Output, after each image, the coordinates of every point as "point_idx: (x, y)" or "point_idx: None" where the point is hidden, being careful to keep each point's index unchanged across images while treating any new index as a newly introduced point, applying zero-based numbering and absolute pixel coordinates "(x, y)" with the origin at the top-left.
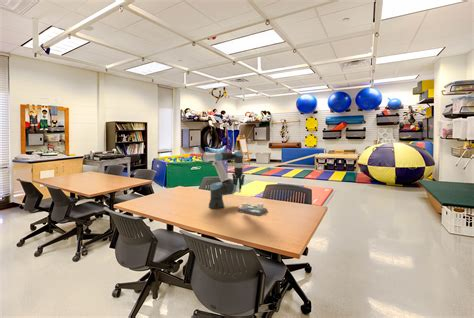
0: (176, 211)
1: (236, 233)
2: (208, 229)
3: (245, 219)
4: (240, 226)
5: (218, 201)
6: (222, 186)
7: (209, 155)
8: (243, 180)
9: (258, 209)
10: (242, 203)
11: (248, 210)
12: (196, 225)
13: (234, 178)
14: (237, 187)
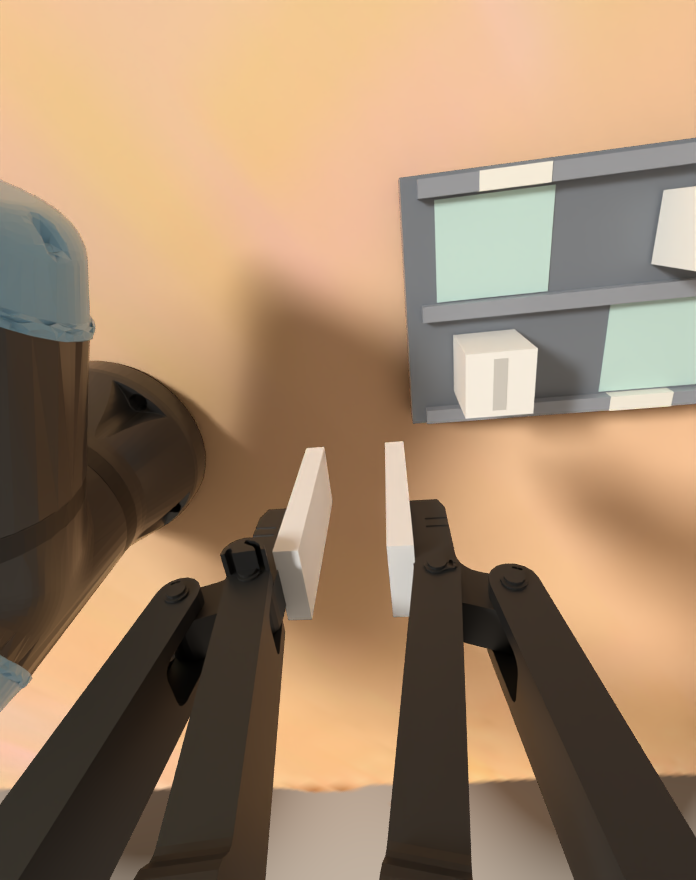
0: (67, 700)
1: (690, 738)
2: (498, 770)
3: (623, 543)
4: (659, 661)
5: (151, 519)
6: None
7: None
8: (632, 763)
9: (690, 289)
10: (471, 417)
11: (577, 411)
12: (394, 767)
13: (97, 840)
14: (312, 524)
